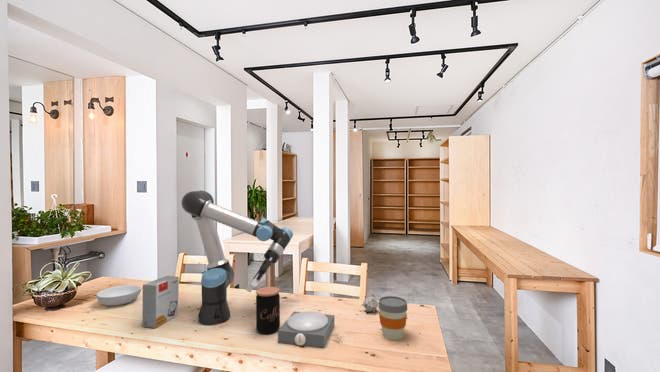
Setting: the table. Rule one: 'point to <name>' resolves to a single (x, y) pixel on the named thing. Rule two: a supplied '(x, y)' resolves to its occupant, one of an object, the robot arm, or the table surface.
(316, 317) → the kitchen scale
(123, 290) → the serving bowl
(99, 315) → the table surface
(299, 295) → the table surface
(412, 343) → the table surface
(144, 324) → the hard drive box
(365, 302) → the game die
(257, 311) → the coffee jar
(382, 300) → the reusable coffee cup
